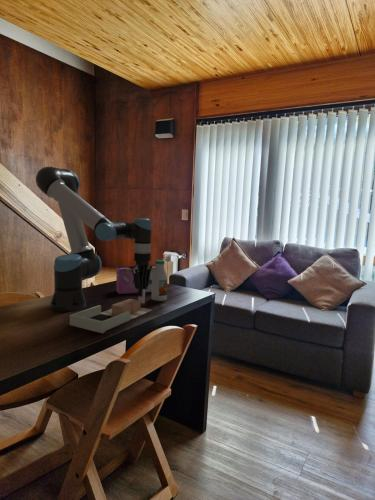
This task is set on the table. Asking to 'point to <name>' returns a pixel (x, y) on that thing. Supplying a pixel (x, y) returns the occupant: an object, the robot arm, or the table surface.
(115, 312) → the tile front
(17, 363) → the table surface
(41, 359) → the table surface
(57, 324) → the table surface
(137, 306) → the tile back
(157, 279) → the milk bottle
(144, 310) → the board
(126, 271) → the gum box
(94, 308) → the tray
